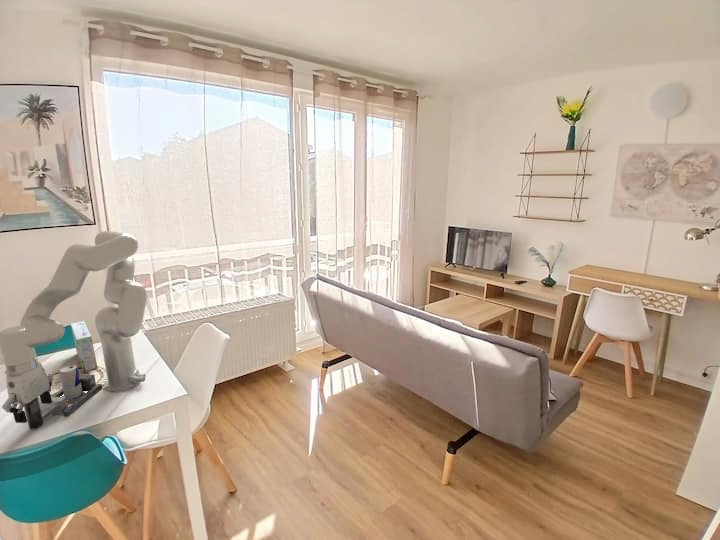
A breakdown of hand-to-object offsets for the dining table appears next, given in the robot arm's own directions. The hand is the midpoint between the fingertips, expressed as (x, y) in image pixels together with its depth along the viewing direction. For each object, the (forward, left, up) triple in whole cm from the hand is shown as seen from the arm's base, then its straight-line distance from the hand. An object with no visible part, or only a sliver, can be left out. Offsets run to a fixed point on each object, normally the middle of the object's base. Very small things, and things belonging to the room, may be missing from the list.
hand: (34, 412), depth 122 cm
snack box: (+15, -43, -6) cm, 46 cm away
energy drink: (0, -16, -5) cm, 17 cm away
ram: (0, -3, -5) cm, 6 cm away
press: (0, -14, -5) cm, 15 cm away
